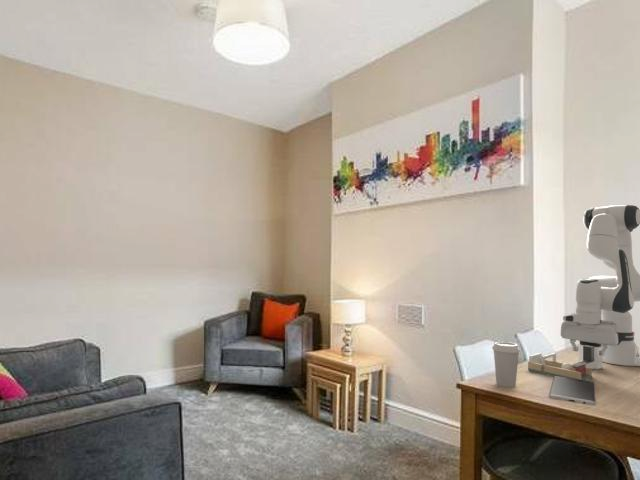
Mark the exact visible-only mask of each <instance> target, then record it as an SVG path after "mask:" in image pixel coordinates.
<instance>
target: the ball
mask: <svg viewBox="0 0 640 480" xmlns="http://www.w3.org/2000/svg"><path fill="white" fill-rule="evenodd" d="M563 363H564V364H562V366H561V368H562V369H567V370H573V367H572V365H573V364H571V363H569V362H563Z"/></svg>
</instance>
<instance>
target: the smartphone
mask: <svg viewBox="0 0 640 480" xmlns="http://www.w3.org/2000/svg"><path fill="white" fill-rule="evenodd" d="M595 397H596V396H595V382H594V381H592V380H588V379H587V380H580V379H573V378H566V377H559V376H553V379H552V383H551V386H550V391H549V394H548V398H550V399H553V400H554V399H555V400H559V401H560V400H561V401H567V402H570V401H573V400H574V401H573V402H574V403H578V404H579V403H580V404H584V403H585V405H591V406H595V405H596V399H595Z"/></svg>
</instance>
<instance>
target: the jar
mask: <svg viewBox="0 0 640 480" xmlns="http://www.w3.org/2000/svg"><path fill="white" fill-rule="evenodd" d="M578 342H579V343H578V346H577V347H579V348H578V349H579V351H577V352H578V354H577V355H578V356H577V360H578V361H577V363H578V362H581V361H583V346H585V345H588V346H594V362H592V363H589V364H586V367H587V368H592V370H599V369H600V370H601V369H603V368H604V367H603V359H602V356H601V355H599V351H600V350H602V346H601V344H598V343H591V342H585V341H578Z"/></svg>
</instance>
